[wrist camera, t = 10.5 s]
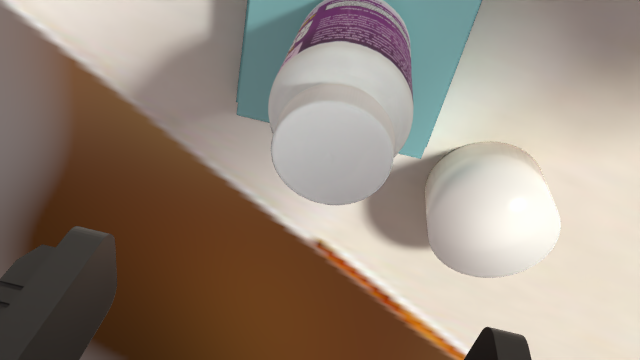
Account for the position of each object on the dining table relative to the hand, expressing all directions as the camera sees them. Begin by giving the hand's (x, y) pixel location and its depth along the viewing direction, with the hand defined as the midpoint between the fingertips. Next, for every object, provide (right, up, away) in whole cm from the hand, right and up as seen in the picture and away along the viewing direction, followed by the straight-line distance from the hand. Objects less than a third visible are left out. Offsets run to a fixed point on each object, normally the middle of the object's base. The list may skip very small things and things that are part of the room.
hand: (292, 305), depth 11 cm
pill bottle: (+2, +9, +13) cm, 16 cm away
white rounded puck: (+11, +2, +20) cm, 23 cm away
